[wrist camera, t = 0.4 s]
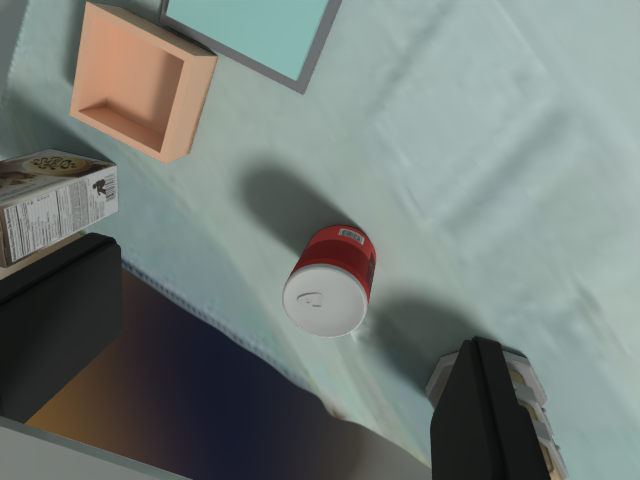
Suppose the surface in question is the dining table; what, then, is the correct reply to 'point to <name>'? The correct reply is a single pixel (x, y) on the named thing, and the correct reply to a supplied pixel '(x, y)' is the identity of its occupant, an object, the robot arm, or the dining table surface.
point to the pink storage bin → (140, 82)
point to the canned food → (331, 282)
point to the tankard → (526, 394)
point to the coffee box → (51, 200)
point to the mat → (296, 85)
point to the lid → (257, 27)
